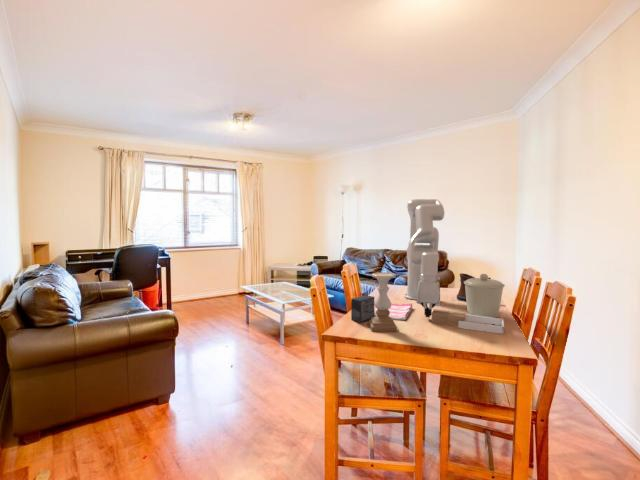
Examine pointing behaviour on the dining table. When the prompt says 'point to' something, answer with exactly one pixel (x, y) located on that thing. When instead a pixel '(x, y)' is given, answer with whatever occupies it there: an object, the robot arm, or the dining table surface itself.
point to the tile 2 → (455, 317)
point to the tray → (480, 326)
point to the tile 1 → (440, 316)
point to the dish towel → (398, 311)
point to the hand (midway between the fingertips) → (427, 316)
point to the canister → (483, 296)
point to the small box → (362, 308)
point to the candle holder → (382, 306)
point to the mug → (463, 286)
